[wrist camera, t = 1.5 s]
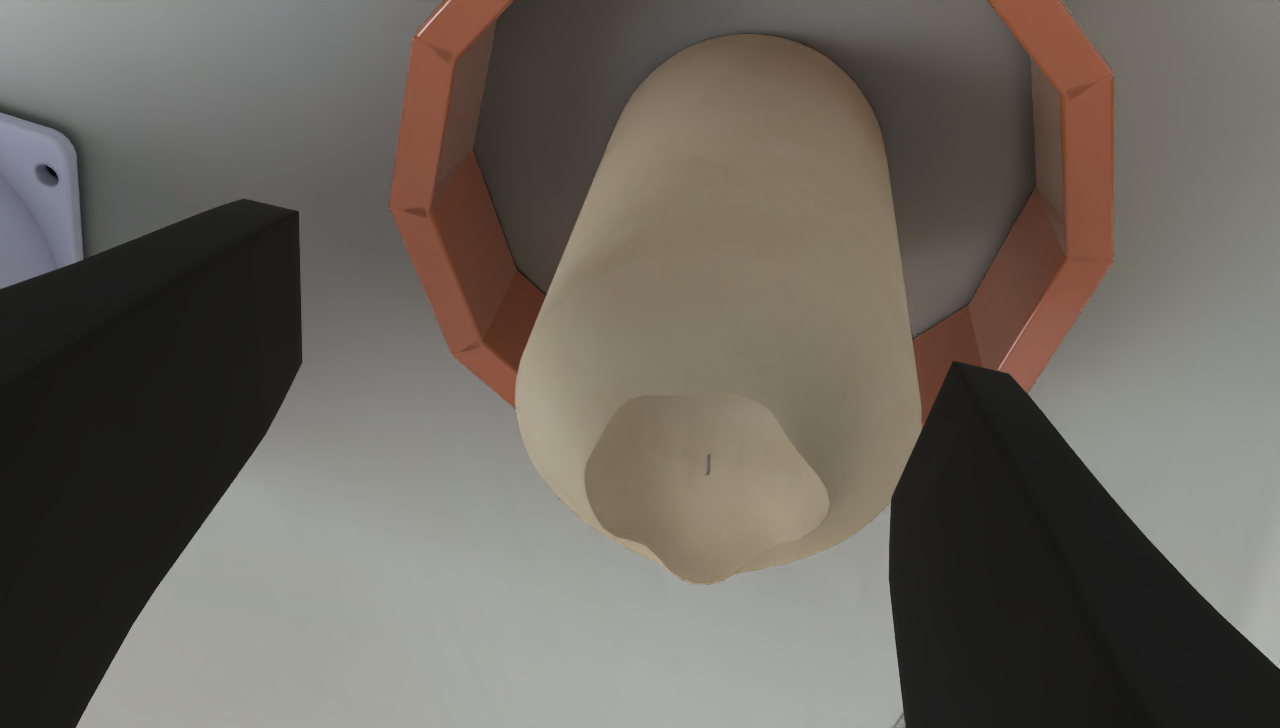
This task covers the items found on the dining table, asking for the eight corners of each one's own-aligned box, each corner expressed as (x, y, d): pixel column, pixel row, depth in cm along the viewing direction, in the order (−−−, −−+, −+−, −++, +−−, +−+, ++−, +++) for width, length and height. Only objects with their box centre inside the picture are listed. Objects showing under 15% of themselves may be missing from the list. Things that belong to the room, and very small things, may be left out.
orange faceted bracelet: (908, 472, 25) (918, 562, 22) (406, 317, 24) (361, 393, 22) (1218, -49, 17) (1285, 2, 15) (507, -290, 17) (455, -278, 14)
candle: (910, 42, 19) (981, 343, 11) (860, 295, 22) (887, 672, 14) (616, 17, 19) (475, 286, 11) (609, 268, 23) (495, 618, 15)
